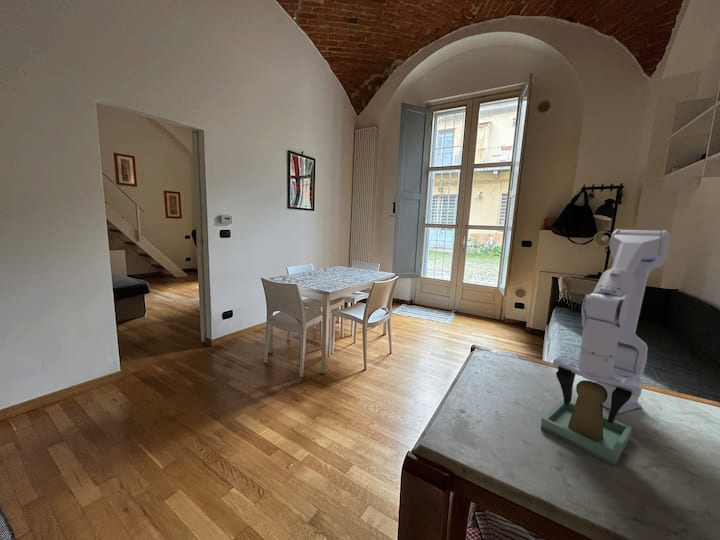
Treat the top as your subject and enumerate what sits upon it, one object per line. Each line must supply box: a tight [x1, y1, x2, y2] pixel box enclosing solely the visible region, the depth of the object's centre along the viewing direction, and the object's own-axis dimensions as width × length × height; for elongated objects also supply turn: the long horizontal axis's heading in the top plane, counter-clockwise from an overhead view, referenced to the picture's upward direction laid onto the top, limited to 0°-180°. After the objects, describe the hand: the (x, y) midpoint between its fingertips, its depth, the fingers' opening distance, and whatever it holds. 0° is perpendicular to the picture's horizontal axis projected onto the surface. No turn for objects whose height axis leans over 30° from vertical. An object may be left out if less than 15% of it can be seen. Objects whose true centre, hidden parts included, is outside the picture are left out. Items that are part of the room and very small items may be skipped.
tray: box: [540, 398, 633, 467], centre depth 63 cm, size 13×13×2 cm
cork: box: [568, 379, 608, 442], centre depth 62 cm, size 6×6×11 cm
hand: (588, 411), depth 63 cm, fingers open, 7 cm apart
